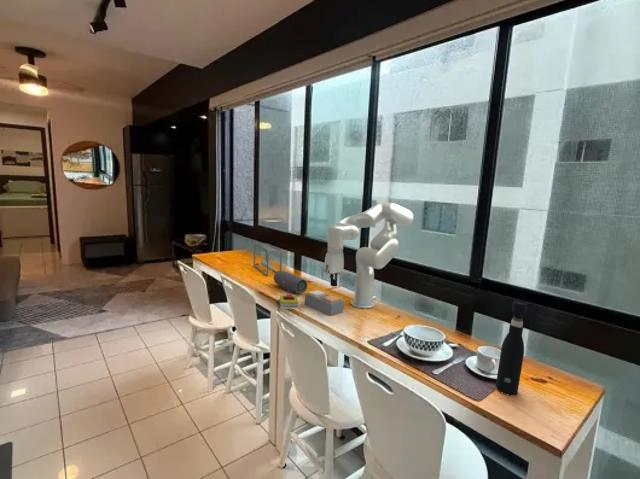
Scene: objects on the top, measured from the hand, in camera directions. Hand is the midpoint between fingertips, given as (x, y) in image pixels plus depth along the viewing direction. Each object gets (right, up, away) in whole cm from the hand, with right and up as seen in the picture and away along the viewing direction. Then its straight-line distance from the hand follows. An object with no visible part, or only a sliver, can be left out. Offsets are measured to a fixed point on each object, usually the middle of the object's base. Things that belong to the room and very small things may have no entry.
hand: (333, 285), depth 173 cm
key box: (-5, -12, +5) cm, 14 cm away
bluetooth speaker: (-25, -7, +32) cm, 42 cm away
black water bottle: (+54, -26, -60) cm, 85 cm away
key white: (-8, -9, +8) cm, 15 cm away
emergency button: (-23, -11, +9) cm, 27 cm away
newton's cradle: (-45, +1, +74) cm, 86 cm away
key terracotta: (-1, -11, +1) cm, 11 cm away
